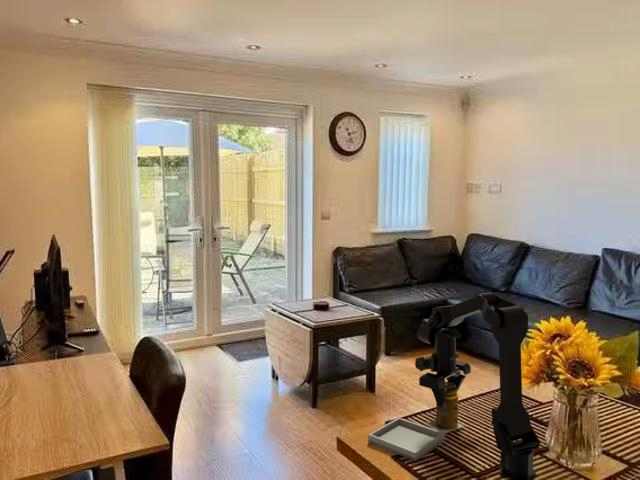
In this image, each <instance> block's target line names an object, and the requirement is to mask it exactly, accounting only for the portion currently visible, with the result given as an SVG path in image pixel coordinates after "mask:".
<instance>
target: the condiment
mask: <svg viewBox="0 0 640 480" xmlns="http://www.w3.org/2000/svg"><path fill="white" fill-rule="evenodd" d="M445 385H446V386H448V388H447V392H446V395H445V398H444V402H443V405H442V407H438V405H437V403H436V402H435V405H436V406H435V407H436V409H435V411H436V412H435V420H434V419H433V420H432V421H428V422H424V425H426V427H428V428H431V429H434V430H437V431H440V432H443V433H445V434H446V433H449V432H452V431H455V430H457V429H458V430H459V429H461V428H463V427H465V425H464V424H461V423H459V422H458V421H459V420H458V419H459V394H458V392H457V386H456V384H454V383H451V382H448V381H445Z"/></svg>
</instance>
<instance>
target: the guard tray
mask: <svg viewBox="0 0 640 480" xmlns="http://www.w3.org/2000/svg"><path fill="white" fill-rule="evenodd" d="M367 439H368V440H367V441H368V443H370V444H372V445H374V446H377V447H379V448H381V449H384V450H385V451H386V450H387V451H389V452H391V453H394V454H396V455H399V456H401V457H404V458H406V459H409V460H410V461H411V460H412V461H414V462H417V461H418V460H420V459H422V458H423V457H424V456H425V455H427V454H428V453H430V452H431V451H433V450H434V449H436V448H437V447H439V446H440V445H442V444H443V443H445V442H446V433H443V432H440V431H437V430H434V429H432V428H431V427H429V426H425V425H422V424H419V423H416V422H413V421H410V420H407V419H405V418H402V417H397V418H395V419H393V420H392V421H389V422H388V423H386V424H384V425H383V426H381V427H379V428H377V429H376V430H374V431H372V432H370V433H369V434H368V435H367ZM444 441H445V442H444ZM441 443H442V444H441ZM439 444H440V445H439ZM438 445H439V446H438ZM435 447H436V448H435Z"/></svg>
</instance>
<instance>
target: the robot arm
mask: <svg viewBox="0 0 640 480" xmlns="http://www.w3.org/2000/svg"><path fill="white" fill-rule="evenodd" d="M478 313H481V316H482V319H483V320H484V321H485V322H486V323H487V324H489V325H490V330H491V334H492V336H493V337H494V338H495V341H496V342H497V343H498V358H499V359H498V360H499V362H498V364H499V366H498V367H499V368H498V370H499V394H500V395H499V396H500V399H499V401H500V403H499V404H498V406H497V407H492V408H491V418H492V419H491V425H492V428H493V434H494V438H495V443H496V448H497V449H498V450H499V451H500V465H499V466H500V468H501V469H500V470H499V471H498V474H499V475H500V476H501V475H502V476H503V477H506V478H510V479H512V480H530V479H532V478H533V476H535V475H536V473H537V470H535V469H534V451H535V450H539V449H540V447H541V441H540V438H539V437H538V435H537V433H536V431H535V430H534V428H533V425H532V424H531V418H530V413H529V412H528V411H527V409H526V407H525V406H524V404H523V380H522V379H523V378H522V376H523V375H522V344H523V342H524V339H525V337H527V334H528V328H529V327H528V326H529V315H528V313H527V312H526V311H525V309H524V308H523V307H521V306H519V305H518V304H516V303H514V302H513V301H511V300H508V299H506V298H503V297H500V296H499V295H498V294H497V293H495V292H491V291H490V292H480V293H478V294H475V296H472V297H470V298H467V299H465V300H463V301H460V302H457V303H455V304H452V305H444V306H437V307H434V308H432V310H431V313H430V315H429V316H428V318H425V319H422V323H421V324H420V325H419V326H418V327H417V330H416V336H417V338H418V339H419V340H420V341H422V342H424V343H426V344H429V345H430V346H434V347H435V348H434V352H433V353H432V354H431V355H430V356H429V355H428V356H420V357H416V358H415V362H414V367H415V368H416V369H417V370H419V372H423V371H427V370H430V371H429V372H426V373H425V374H422V375H421V376H419V378H418V385H419V386H420V387H424V388H426V389H430V390H431V391H432V394H433V396H434V397H433V398H434V399H435V404H436V403H437V405H438V407H442V405H443V402H444V398H445V395H446V392H447V388H448V386H446V385H445V382H451V383H454V384H456V386H457V393H458V392H459V390H460V387H461V386H462V383H463V382H464V381H465V379H466V378H467V375H469V374H470V373H472V372H471V371H472V370H471V369H472V368H471V367H472V366H471V365H470V364H469V362H465V361H461V360H458V358H460V353H459V352H457V338H461V336H462V335H461V334H460V332H459V331H458V330H457V329H456V328H455V326H458V325H459V324H461V323H462V322H463V321H464V319H465V318H467V317H470V316H472V315H475V314H478ZM453 326H454V328H448V327H453ZM461 371H462V372H461Z"/></svg>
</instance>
